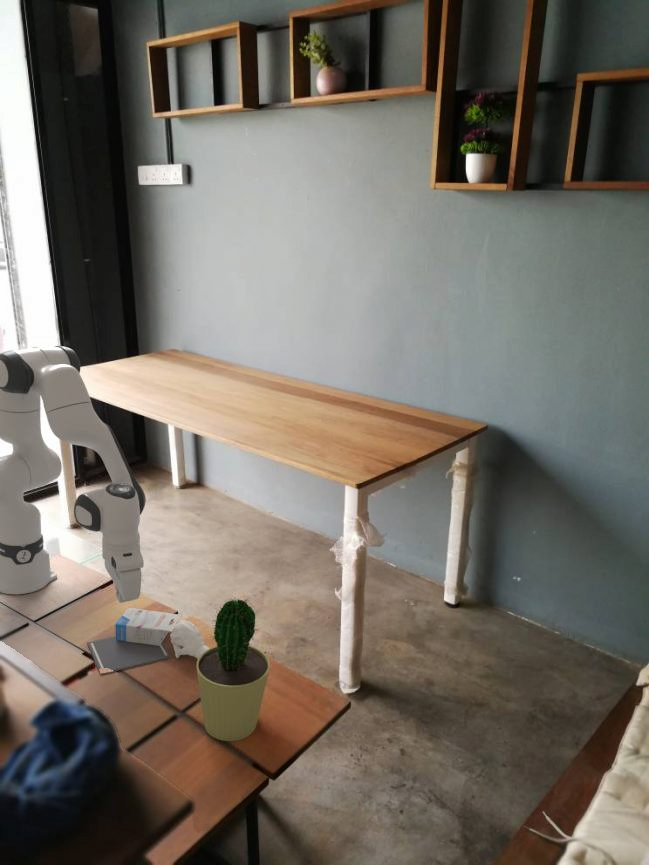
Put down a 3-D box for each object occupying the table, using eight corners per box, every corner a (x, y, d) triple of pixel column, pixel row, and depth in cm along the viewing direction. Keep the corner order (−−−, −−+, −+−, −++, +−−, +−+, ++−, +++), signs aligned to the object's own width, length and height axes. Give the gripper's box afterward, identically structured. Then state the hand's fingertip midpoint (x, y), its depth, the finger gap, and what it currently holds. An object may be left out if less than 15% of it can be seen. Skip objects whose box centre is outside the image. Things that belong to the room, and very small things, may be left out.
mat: (87, 643, 173) (87, 642, 173) (154, 629, 182) (154, 627, 182) (100, 674, 162) (100, 673, 161) (171, 657, 170) (171, 656, 170)
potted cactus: (227, 760, 139) (234, 628, 131) (179, 722, 148) (182, 597, 140) (281, 723, 150) (290, 600, 142) (233, 691, 160) (238, 574, 152)
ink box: (115, 641, 175) (171, 648, 173) (114, 623, 173) (171, 631, 172) (128, 623, 183) (182, 630, 181) (128, 606, 181) (182, 613, 180)
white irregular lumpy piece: (187, 613, 174) (222, 635, 168) (184, 641, 177) (218, 664, 171) (168, 623, 169) (203, 646, 163) (165, 652, 172) (200, 675, 166)
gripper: (97, 534, 176) (98, 583, 180) (118, 569, 159) (119, 622, 163) (122, 531, 179) (123, 579, 183) (145, 564, 163) (145, 616, 166)
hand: (121, 599), depth 173 cm, fingers closed
